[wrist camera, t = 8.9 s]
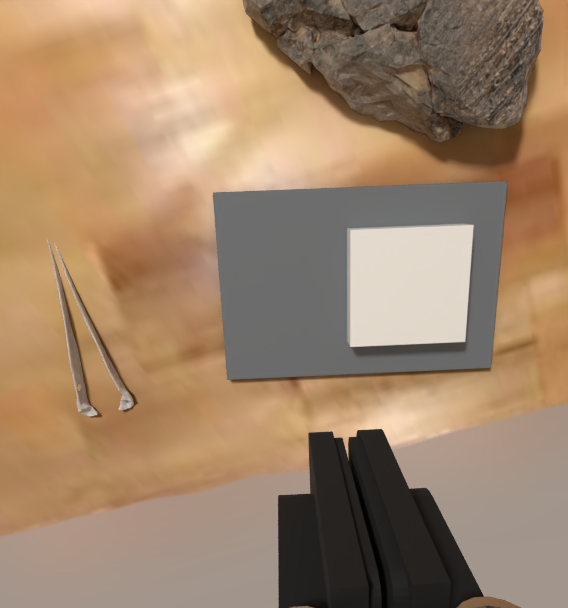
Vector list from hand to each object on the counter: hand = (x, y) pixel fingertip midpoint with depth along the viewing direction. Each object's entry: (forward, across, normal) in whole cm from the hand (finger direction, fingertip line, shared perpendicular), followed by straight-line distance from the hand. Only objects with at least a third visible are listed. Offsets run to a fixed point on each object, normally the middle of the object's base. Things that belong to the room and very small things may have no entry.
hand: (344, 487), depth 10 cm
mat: (+25, -5, +1) cm, 26 cm away
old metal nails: (+26, +18, +2) cm, 31 cm away
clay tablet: (+26, -8, -18) cm, 32 cm away
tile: (+24, -4, +1) cm, 24 cm away
